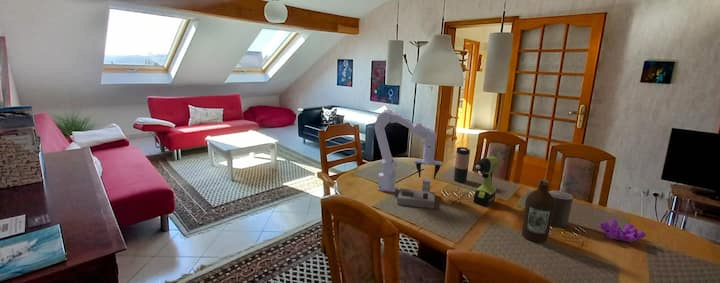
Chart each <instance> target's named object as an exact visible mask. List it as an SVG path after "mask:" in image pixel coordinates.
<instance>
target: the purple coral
mask: <svg viewBox="0 0 720 283" xmlns="http://www.w3.org/2000/svg"><path fill="white" fill-rule="evenodd" d="M599 226H600V228H601V229H602V231H603V232H604V234H605V236H606V237H608V238H609V239H611V240H616V241H617V240H619V241H623V242H636V241H637V240H642V239H643V238H645V237H646V236H647V234H646V233H645V232H644V231H643V230H638V229H637V228H635V226H634V225H633V224H631V223H627V224H626V225H625V226H624V228H623V229H622V228H621V226H618V221H617V220H616V219H609V223H608V222H607V221H606V220H605V221H601V222H600V224H599Z"/></svg>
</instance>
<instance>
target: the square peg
mask: <svg viewBox="0 0 720 283" xmlns="http://www.w3.org/2000/svg"><path fill="white" fill-rule="evenodd" d="M431 182H432V179H431V178H422V188H421V189H422V190H421V191H427V192H431Z"/></svg>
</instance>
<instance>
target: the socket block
mask: <svg viewBox="0 0 720 283" xmlns="http://www.w3.org/2000/svg"><path fill="white" fill-rule="evenodd" d="M435 195H436V192H433V191H430V192H427V191H422V190H418V189H417V190H416V189H407V188H399V192H398V195H397V201H396V202H397V203H396V204H397V205H401V206H408V205H409V207H410V206H411V207H416V206H418V207H417V208H424V207H428V208H427V209H432V208H434V209H435V197H436V196H435Z"/></svg>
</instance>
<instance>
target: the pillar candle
mask: <svg viewBox="0 0 720 283" xmlns="http://www.w3.org/2000/svg"><path fill="white" fill-rule="evenodd" d="M548 192H549V193H550V194H551V196H552V197H553V198H554V200H555V211H554V214H553V218H552V222H551V226H552V227H555V228H561V229H562V228H567V227H568V225H569V220H570V219H569V218H570V214H571V210H572V206H573V205H572V204H573V200H574V196H573V195H572V194H570V193H567V192H565V191H560V190H550V191H549V190H548ZM551 226H550V227H551Z"/></svg>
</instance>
